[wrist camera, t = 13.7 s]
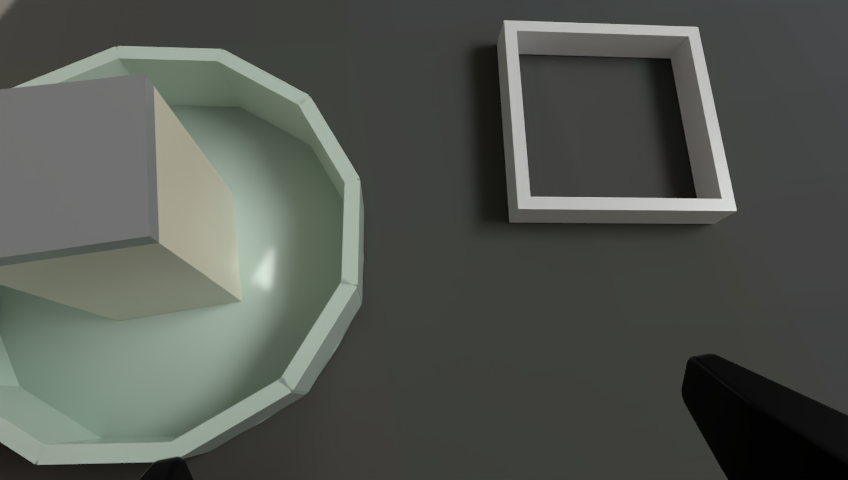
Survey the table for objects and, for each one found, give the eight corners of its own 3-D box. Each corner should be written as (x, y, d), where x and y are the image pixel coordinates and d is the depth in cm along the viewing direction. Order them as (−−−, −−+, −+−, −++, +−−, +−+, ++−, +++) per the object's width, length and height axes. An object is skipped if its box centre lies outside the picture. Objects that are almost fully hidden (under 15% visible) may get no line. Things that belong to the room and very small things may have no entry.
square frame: (713, 223, 26) (736, 211, 24) (509, 222, 25) (518, 208, 23) (679, 49, 29) (697, 27, 27) (496, 43, 28) (504, 20, 26)
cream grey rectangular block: (241, 301, 22) (149, 236, 14) (118, 321, 22) (-59, 266, 13) (233, 193, 24) (144, 73, 15) (117, 209, 23) (-43, 94, 14)
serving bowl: (360, 447, 21) (353, 457, 17) (-51, 456, 20) (-161, 469, 16) (366, 107, 26) (363, 53, 22) (35, 100, 25) (-34, 41, 21)
